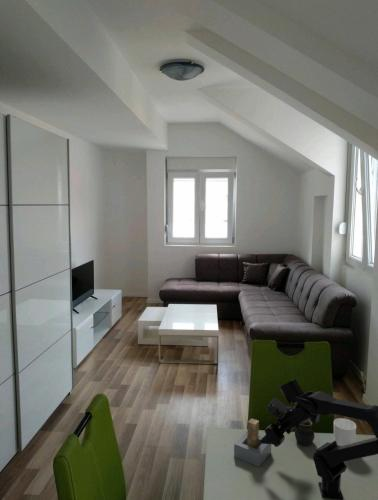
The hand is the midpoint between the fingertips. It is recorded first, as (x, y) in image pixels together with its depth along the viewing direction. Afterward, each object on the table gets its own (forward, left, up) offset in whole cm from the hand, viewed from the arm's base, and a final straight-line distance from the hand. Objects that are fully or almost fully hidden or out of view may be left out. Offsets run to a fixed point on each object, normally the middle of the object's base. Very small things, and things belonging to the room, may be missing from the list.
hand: (266, 435), depth 141 cm
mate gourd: (+14, -15, -9) cm, 23 cm away
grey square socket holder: (+3, +5, -9) cm, 11 cm away
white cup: (+11, -29, -9) cm, 33 cm away
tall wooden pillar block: (+3, +5, -8) cm, 10 cm away
